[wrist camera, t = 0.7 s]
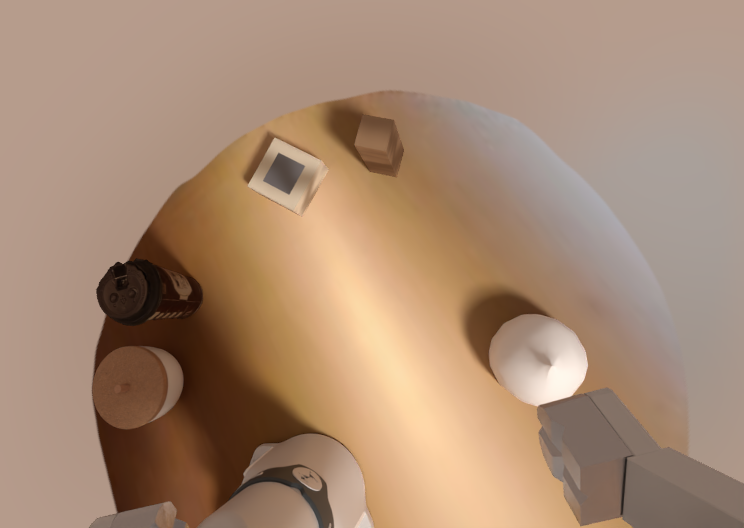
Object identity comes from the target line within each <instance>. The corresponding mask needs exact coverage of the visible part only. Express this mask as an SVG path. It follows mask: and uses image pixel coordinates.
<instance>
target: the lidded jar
mask: <svg viewBox="0 0 744 528" xmlns="http://www.w3.org/2000/svg"><path fill="white" fill-rule="evenodd" d="M183 383H184V377H183V372H182V369H181V366H180V364H179V363H178V361H177V360H176V359H175V358H174V357H173V356H172V355H171V354H169V353H168V352H166V351H164V350H162V349H159V348H155V347H149V346H125V347H121V348H118V349H116V350H114V351H112V352H111V353H110V354H108V355H107V356H106V357H105V358H104V359H103V361H102V362H101V363H100V365H99V367H98V368H97V371H96V373H95V376H94V380H93V387H92V394H93V400H94V404H95V407H96V409H97V411H98V413H99V414H100V416H101V417H102V418H103V419H104V420H105V421H106V422H107V423H109V424H110V425H112V426H114V427H116V428H120V429H134V428H137V427H141V426H143V425H145V424H147V423H149V422H152V421H154V420H156V419H158V418H160V417H161V416H163V415H164V414H166V413H167V412H168V411H169V410H171V409H172V408H173V406H174V405H175V404H176V402H177V401H178V399H179V398H180V395H181V393H182V389H183Z"/></svg>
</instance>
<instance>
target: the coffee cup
mask: <svg viewBox="0 0 744 528" xmlns="http://www.w3.org/2000/svg"><path fill="white" fill-rule="evenodd" d="M97 299H98V302H99V305H100V307H101V309H102V310H103V312H104V313H105V314H107V315H108V316H109V317H110V318H112V319H113V320H115V321H117V322H119V323H122V324H123V325H129V326H136V325H140V324H142V323H145V322H146V321H147V320H158V319H165V318H170V319H174V318H177V319H183V318H187V317H189V316H191V315H192V314H194V313H195V312H196V311H197V310H198V309H199V308H200V306H201V304H202V301H203V292H202V288H201V286H200V285H199V284H198V282H197V281H196V280H195V279H193V278H191V277H186V276H183V275H181V274H180V273H177V272H174V271H171V270H168V269H165V268H162V267H159V266H156V265H153V264H152V263H150V262H148V260H141V259H137V258H136V259H135V260H134V261H133V262H132V261H127V262H126V263H124V264H122V263H120V262H117V263H116V264H115V265H114V266H112V267H110V269H109V270H108V272H107V273H106V274H105V276H104V277H103V278H102V279H101V281H100V282H99V286H98V288H97Z"/></svg>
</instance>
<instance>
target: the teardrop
mask: <svg viewBox="0 0 744 528" xmlns="http://www.w3.org/2000/svg"><path fill="white" fill-rule="evenodd" d="M489 361H490V367H491V369H492V371H493V373H494V375H495V377H496V379H497V381H498V383H499V384H500V385H501V386H502V387H504V388H505V389H506V390H507V391H509V392H510V393H511V394H513V395H514V396H515V397H517V398H518V399H519V400H521V401H522V402H525V403H528V404H531V405H534V406H539V405H541V404H545V403H549V402H552V401H556V400H560V399H563V398H567V397H571V396H572V395H573V393H574V392H575V391H576V390H577V388H578V387H579V386H580V385H581V383H582V382H583V381H584V378H585V375H586V371H587V367H588V364H587V357H586V351H585V349H584V348H583V346H582V344H581V342H580V341H579V339H578V337H577V335H576V334H575V332H574V331H572V330H571V329H569V328H568V327H567V326H565V325H564V324H563V323H561V322H560V321H559V320H557V319H554V318H551V317H547V316H544V315H539V314H524V315H520V316H518V317H516V318H514V319H512V320H509V321H507V322H505V323H504V324H503V325H502V326H501V327H500V329H499V330H498V331H497V333H496V334H495V335H494V337H493V338H492V340H491V345H490V349H489Z"/></svg>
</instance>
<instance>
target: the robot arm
mask: <svg viewBox="0 0 744 528" xmlns="http://www.w3.org/2000/svg"><path fill="white" fill-rule="evenodd" d="M537 415H538V419H539V421H540V423H541V424H542V428H541V429H540V431H539V440H540V445H541V449H542V452H543V456H544V458H545V460H546V463H547V465H548V467H549V469H550V471H551V473H552V475H553V476H554V477H555V478H557V479H559V480H560V481H562V482H563V489H564V497H565V499H566V501H567V502H568V504H569V506H570V508H571V510H572V511H573V513H574V515H575V517H576V519H577V521H578V522H579V524H580V526H584V525H588V524H592V523H597V522H601V521H606V520H610V519H615V518H619V517H623V520H624V521H626V522H627V523H628V524H630V525H631V526H632V527H634V528H744V484H743V483H741V482H739V481H737V480H735V479H733V478H731V477H729V476H727V475H725V474H723V473H721V472H719V471H717V470H715V469H713V468H711V467H709V466H707V465H705V464H702V463H700V462H698V461H696V460H694V459H692V458H690V457H688V456H686V455H684V454H682V453H680V452H678V451H676V450H674V449H672V448H670V447H667V448H663V449H661V447H660V446H659V445H658V444H657V443H656V442H655V440H654V439H653V438H652V437H651V436H650V434H649V433H648V432H647V431H646V430H645V428H644V427H643V426H642V425H641V424H640V423H639V421H638V420H637V419H636V418H635V417H634V415H633V414H632V413H631V412H630V411H629V409H628V408H627V407H626V406H625V405H624V404H623V402H622V401H621V400H620V399H619V398H618V396H617V395H616V394H615V393H614V392H613V390H611V389H609V388H603V389H599V390H596V391H592V392H588V393H584V394H578V395H574V396H571V397H567V398H563V399H560V400H556V401H552V402H549V403H545V404H541V405H539V406H538V409H537ZM243 475H244V479H243V481H242V484H241V486H240V487H239V488H238V489H237V490H236V491H235V492H234V493H233V495H232V496H231V497H230V499H229V500H228V502H226V503H225V504H224V505H223V506H221V507H220V508H219V509H217V510H216V511H215V512H214V513H212V514H211V515H210V516H208V517H207V518H206V519H205V520H204V521H202V523H201V524H200V525H199V526H198V527H197V528H374V524H373V520H372V518H371V515H370V513H369V511H368V508H367V506H366V500H365V485H364V480H363V476H362V473H361V470H360V468H359V465H358V463H357V462H356V460H355V458H354V457H353V456H352V454H351V453H350V452H349V451H348V450H347V449H346V448H345V447H344V446H343V445H342V444H340V443H339V442H337V441H336V440H334V439H332V438H330V437H327V436H324V435H320V434H302V435H298V436H295V437H292V438H290V439H288V440H286V441H284V442H281V443H266V444H262V445H260V446H259V447H257V448H256V450H255V451H254V454H253V457H252V459H251V462H250V465H249V467H248V468H247V469H246V470H245V472H244V473H243ZM176 514H177V509H176V508H175V507H174V506H173V504H172V503H171V502H165V503H160V504H156V505H151V506H147V507H143V508H138V509H134V510H129V511H125V512H121V513H117V514H113V515H109V516H105V517H100V518H97V519H96V520H95V521H94V522H93V523H92V524H91V525H90V527H89V528H189V526H188V525H187V523H186V522H183V521H181V520H178V519H176V518H175V517H176Z"/></svg>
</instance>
